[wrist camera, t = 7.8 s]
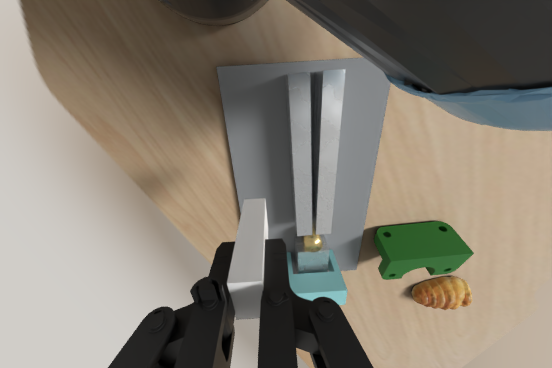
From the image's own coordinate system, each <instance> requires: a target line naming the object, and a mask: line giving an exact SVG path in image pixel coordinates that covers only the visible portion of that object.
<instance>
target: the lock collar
mask: <svg viewBox="0 0 552 368" xmlns="http://www.w3.org/2000/svg"><path fill="white" fill-rule="evenodd" d="M287 262H288V273H289V283H290V287H291V289H292V291H293V292H294V293H295V294H296V295H298V296H299V297H301V298H304V299H308V300H311V301H313V300H314V299H316V298H318V297H328V298H331V299H332V300H334V301H335V302H336V303H337V304H338V305H343V304H345V302H346V296H347V288H346V285H345V282H344V280H343V277H342V274H341V272H340V269H339V266H338V264H337V261H336V258H335V256H334V253H333V250H332V249H330V250H329V261H328V270H329V272H319V273H304V274H293V269H292V261H291V253H290V252H287Z"/></svg>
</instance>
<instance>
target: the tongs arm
mask: <svg viewBox="0 0 552 368" xmlns="http://www.w3.org/2000/svg"><path fill="white" fill-rule="evenodd" d="M285 82H286V98H287V114H288V129H289V145H290V161H291V177H292V192H293V208H294V221H295V227H296V232H297V236H306V235H312V173H311V97H310V72H302V73H293V74H285Z"/></svg>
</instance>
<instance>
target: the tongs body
mask: <svg viewBox="0 0 552 368" xmlns="http://www.w3.org/2000/svg"><path fill="white" fill-rule="evenodd" d="M345 71H346V69H341V70H325V71H316V72H315V100H314V133H313V167H312V235H306V236H297V235H295V266H296V274H304V273H319V272H328V261H329V248H328V245H327V242H326V239H325V236H324V234H331V228H332V217H333V205H334V194H335V183H336V172H337V161H338V149H339V138H340V127H341V116H342V105H343V93H344V82H345Z"/></svg>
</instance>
